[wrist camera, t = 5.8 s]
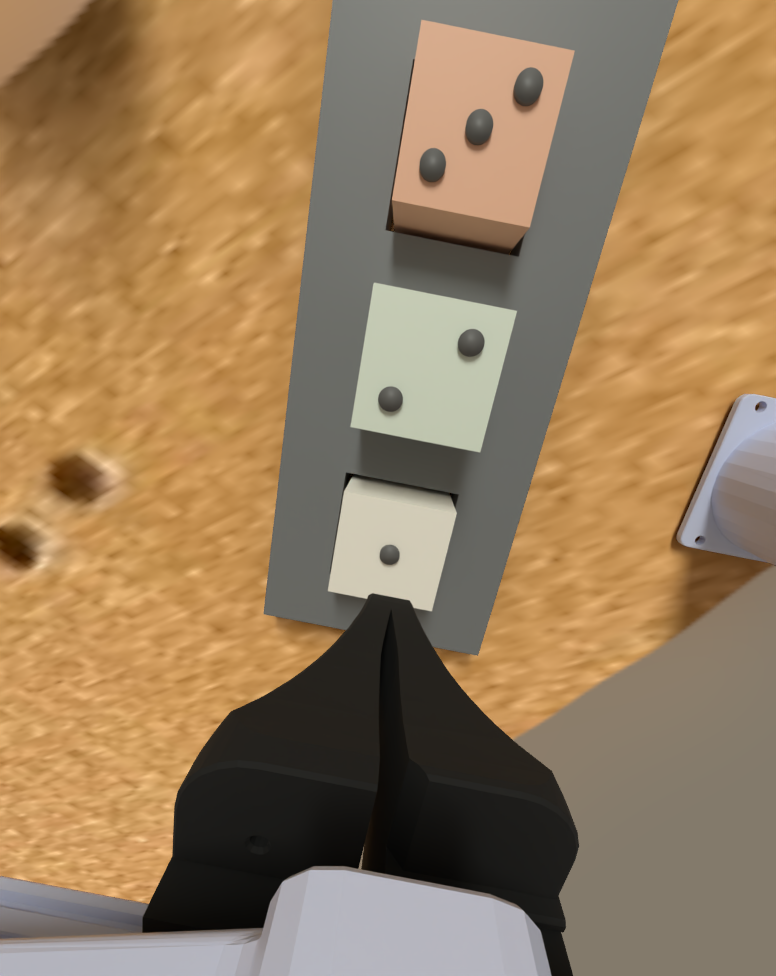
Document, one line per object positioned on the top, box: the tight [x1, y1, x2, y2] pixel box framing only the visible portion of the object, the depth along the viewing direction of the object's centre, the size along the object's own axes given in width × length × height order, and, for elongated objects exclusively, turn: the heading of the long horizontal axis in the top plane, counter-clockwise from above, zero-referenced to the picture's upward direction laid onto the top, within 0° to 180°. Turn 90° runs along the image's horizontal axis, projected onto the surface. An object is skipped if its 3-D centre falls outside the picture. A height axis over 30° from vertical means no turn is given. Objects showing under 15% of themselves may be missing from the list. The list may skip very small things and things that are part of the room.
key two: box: [351, 283, 517, 452], centre depth 16 cm, size 5×5×4 cm
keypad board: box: [264, 0, 678, 656], centre depth 18 cm, size 12×28×2 cm, turn 169°
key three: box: [392, 20, 575, 255], centre depth 15 cm, size 5×5×4 cm
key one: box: [328, 474, 457, 611], centre depth 19 cm, size 5×5×4 cm
